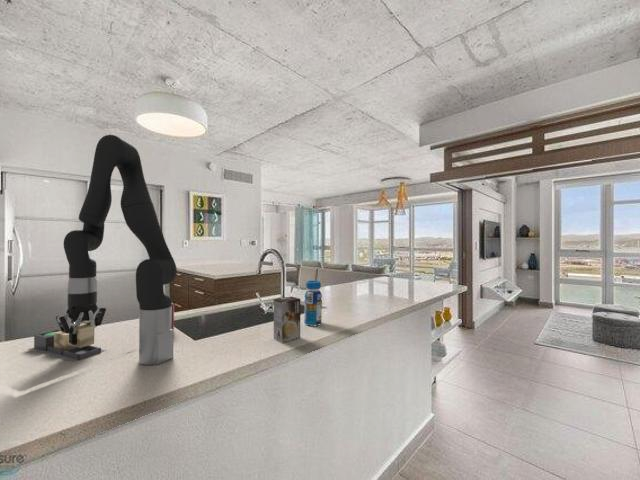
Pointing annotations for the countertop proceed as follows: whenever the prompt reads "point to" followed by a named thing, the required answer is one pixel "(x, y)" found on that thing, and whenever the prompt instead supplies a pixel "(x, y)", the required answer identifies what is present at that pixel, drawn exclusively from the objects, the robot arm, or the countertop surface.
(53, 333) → the button
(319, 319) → the beverage bottle
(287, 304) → the coffee box
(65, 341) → the block
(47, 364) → the countertop surface
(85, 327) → the loose billet
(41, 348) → the grey compartment tray
